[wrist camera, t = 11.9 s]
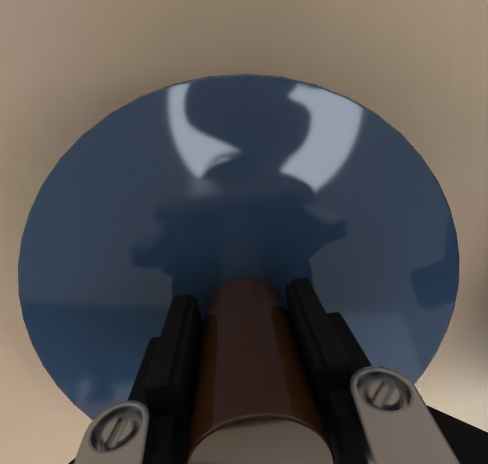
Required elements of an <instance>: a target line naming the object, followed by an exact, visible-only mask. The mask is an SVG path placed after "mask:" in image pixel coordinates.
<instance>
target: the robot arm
mask: <svg viewBox="0 0 488 464" xmlns="http://www.w3.org/2000/svg"><path fill="white" fill-rule="evenodd" d="M286 293H287V304H288V313H289V316H290V319H291V322H292V325H293V329H294V332H295V335H296V338H297V341H298V344H299V347H300V350H301V353H302V356H303V360H304V363H305V366H306V369H307V372H308V375H309V378H310V381H311V384H312V387H313V390H314V394H315V397H316V400H317V403H318V406H319V409H320V412H321V415H322V418H323V421H324V424H325V427H326V430H327V434H328V437H329V440H330V443H331V446H332V449H333V452H334V458H335V464H488V433H487V432H485V431H483V430H481V429H479V428H476V427H474V426H472V425H470V424H467V423H465V422H463V421H461V420H458V419H456V418H454V417H452V416H449V415H447V414H445V413H443V412H440V411H438V410H436V409H434V408H432V407H429V406H427V405H426V404H425V402H424V401H423V399H422V397H421V396H420V394H419V392H418V390H417V389H416V387H415V386H414V385H413V383H412V382H411V381H410V380H409V379H408V378H407V377H405V376H404V375H403V374H401V373H399V372H397V371H395V370H393V369H390V368H386V367H382V366H372V365H371V363H370V361H369V360H368V358H367V356H366V355H365V353H364V351H363V350H362V348H361V346H360V345H359V343H358V341H357V340H356V338H355V336H354V335H353V333H352V331H351V330H350V328H349V326H348V325H347V323H346V321H345V320H344V318H343V316H342V315H341V314H340V312H333V313H326V311H325V309H324V308H323V306H322V304H321V302H320V300H319V298H318V296H317V294H316V292H315V290H314V288H313V287H312V285H311V283H310V281H309V279H308V277H306V278H299V279H292V280H291V284H286ZM202 326H203V324H202V319H201V314H200V309H199V304H198V300H197V297H193V298H192V297H191V295H190V294H184V295H177V296H173V299H172V302H171V305H170V308H169V311H168V314H167V317H166V320H165V323H164V326H163V329H162V332H161V335H160V337H154V338H151V339H150V341H149V343H148V346H147V349H146V352H145V354H144V357H143V360H142V362H141V365H140V368H139V370H138V373H137V376H136V379H135V381H134V384H133V387H132V389H131V392H130V395H129V397H128V400H127V401H122V402H119V403H116V404H114V405H112V406H110V407H108V408H107V409H105V410H104V411H103V412H101V413H100V414H99V415H98V416H96V418H95V419H94V420H93V421H92V422H91V424H90V425H89V427H88V429H87V430H86V432H85V434H84V437H83V440H82V443H81V445H80V448H79V451H78V453H77V456H76V458H75V459H74V460H72V461H71V462H70V463H69V464H184V463H185V455H186V448H187V440H188V433H189V425H190V417H191V410H192V402H193V394H194V387H195V379H196V372H197V364H198V356H199V349H200V341H201V333H202Z"/></svg>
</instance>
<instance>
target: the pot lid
mask: <svg viewBox="0 0 488 464" xmlns="http://www.w3.org/2000/svg"><path fill="white" fill-rule="evenodd" d="M306 277H308V279H309V281H310V283H311V285H312V287H313V288H314V290H315V292H316V294H317V296H318V298H319V300H320V302H321V304H322V306H323V308H324V309H325V311H326V313H333V312H340V314H341V315H342V316H343V318H344V320H345V321H346V323H347V325H348V326H349V328H350V330H351V331H352V333H353V335H354V336H355V338H356V340H357V341H358V343H359V345H360V346H361V348H362V350H363V351H364V353H365V355H366V356H367V358H368V360H369V361H370V363H371V365H372V366H382V367H386V368H390V369H393V370H395V371H397V372H399V373H401V374H403V375H404V376H405V377H407V378H408V379H409V380H410V381H411V382H412V383H413V385H414V384H415V383H416V382H417V380H418V379H419V378H420V377H421V375H422V374H423V373H424V372H425V370H426V368H427V367H428V365H429V364H430V362H431V361H432V359H433V357H434V356H435V354H436V353H437V350H438V348H439V346H440V344H441V342H442V340H443V338H444V336H445V334H446V332H447V329H448V326H449V322H450V319H451V316H452V313H453V310H454V306H455V301H456V295H457V289H458V283H459V251H458V242H457V234H456V229H455V226H454V222H453V218H452V215H451V211H450V207H449V205H448V203H447V200H446V198H445V196H444V194H443V192H442V189H441V187H440V185H439V183H438V181H437V179H436V178H435V176H434V175H433V173H432V172H431V170H430V168H429V167H428V165H427V164H426V162H425V161H424V159H423V158H422V156H421V155H420V154H419V153H418V152H417V151H416V150H415V149H414V147H413V146H412V145H411V144H410V143H409V142H408V141H407V140H406V139H405V137H404V136H403V135H402V134H401V133H400V132H398V131H397V130H396V129H395V128H393V127H392V126H391V125H390V124H388V123H387V122H386V121H385V120H383V119H382V118H381V117H380V116H379V115H377V114H376V113H374V112H372V111H371V110H369V109H367V108H365V107H364V106H362V105H360V104H359V103H357V102H355V101H353V100H352V99H350V98H348V97H346V96H343V95H341V94H338V93H336V92H333V91H331V90H328V89H326V88H323V87H321V86H318V85H315V84H311V83H306V82H302V81H298V80H293V79H289V78H285V77H278V76H265V75H253V74H237V75H222V76H209V77H204V78H200V79H195V80H190V81H185V82H181V83H176V84H173V85H170V86H167V87H165V88H162V89H159V90H157V91H154V92H151V93H149V94H146V95H143V96H141V97H139V98H137V99H135V100H133V101H132V102H130V103H128V104H126V105H124V106H123V107H121V108H119V109H117V110H115V111H114V112H112V113H110V114H109V115H107V116H106V117H105V118H104V119H102V120H101V121H100V122H98V123H97V124H96V125H94V126H93V127H92V128H91V129H89V130H88V131H87V132H85V133H84V134H83V135H82V136H81V137H80V138H79V139H78V140H77V141H76V142H75V143H74V144H73V145H72V146H71V148H70V149H69V150H68V151H67V152H66V153H65V154H64V155H63V156H62V157H61V158H60V160H59V161H58V163H57V164H56V165H55V167H54V168H53V170H52V171H51V173H50V174H49V176H48V177H47V178H46V180H45V181H44V183H43V185H42V187H41V189H40V191H39V193H38V195H37V197H36V199H35V201H34V203H33V205H32V208H31V210H30V212H29V215H28V219H27V222H26V226H25V229H24V232H23V236H22V239H21V247H20V255H19V263H18V285H19V298H20V303H21V308H22V314H23V319H24V322H25V325H26V328H27V331H28V334H29V337H30V340H31V342H32V345H33V347H34V349H35V351H36V353H37V354H38V356H39V358H40V360H41V362H42V364H43V366H44V367H45V369H46V370H47V372H48V373H49V375H50V376H51V378H52V379H53V380H54V382H55V383H56V385H57V386H58V387H59V388H60V389H61V390H62V392H63V393H64V394H65V395H66V396H67V397H68V398H69V399H70V400H71V402H72V403H73V404H74V405H76V406H77V407H78V408H79V409H80V410H81V411H82V412H84V413H85V414H86V415H87V416H88V417H89V418H91V419H92V420H94V419H95V418H96V416H98V415H99V414H100V413H101V412H103V411H104V410H105V409H107V408H108V407H110V406H112V405H114V404H116V403H119V402H122V401H127V400H128V397H129V395H130V392H131V389H132V387H133V384H134V381H135V379H136V376H137V373H138V370H139V368H140V365H141V362H142V360H143V357H144V354H145V352H146V349H147V346H148V343H149V341H150V339H151V338H154V337H160V335H161V332H162V329H163V326H164V323H165V320H166V317H167V314H168V311H169V308H170V305H171V302H172V299H173V296H177V295H184V294H190V295H191V297H192V298H193V297H197V300H198V304H199V309H200V314H201V319H202V324H203V326H202V333H201V341H200V349H199V356H198V364H197V372H196V379H195V387H194V394H193V402H192V410H191V417H190V425H189V433H188V440H187V448H186V455H185V463H184V464H335V458H334V452H333V449H332V446H331V443H330V440H329V437H328V434H327V430H326V427H325V424H324V421H323V418H322V415H321V412H320V409H319V406H318V403H317V400H316V397H315V394H314V390H313V387H312V384H311V381H310V378H309V375H308V372H307V369H306V366H305V363H304V360H303V356H302V353H301V350H300V347H299V344H298V341H297V338H296V335H295V332H294V329H293V325H292V322H291V319H290V316H289V313H288V304H287V293H286V284H291V280H292V279H299V278H306Z"/></svg>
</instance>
